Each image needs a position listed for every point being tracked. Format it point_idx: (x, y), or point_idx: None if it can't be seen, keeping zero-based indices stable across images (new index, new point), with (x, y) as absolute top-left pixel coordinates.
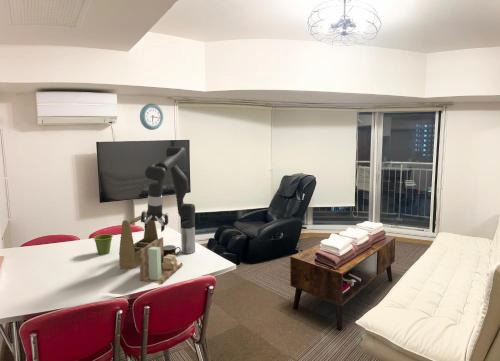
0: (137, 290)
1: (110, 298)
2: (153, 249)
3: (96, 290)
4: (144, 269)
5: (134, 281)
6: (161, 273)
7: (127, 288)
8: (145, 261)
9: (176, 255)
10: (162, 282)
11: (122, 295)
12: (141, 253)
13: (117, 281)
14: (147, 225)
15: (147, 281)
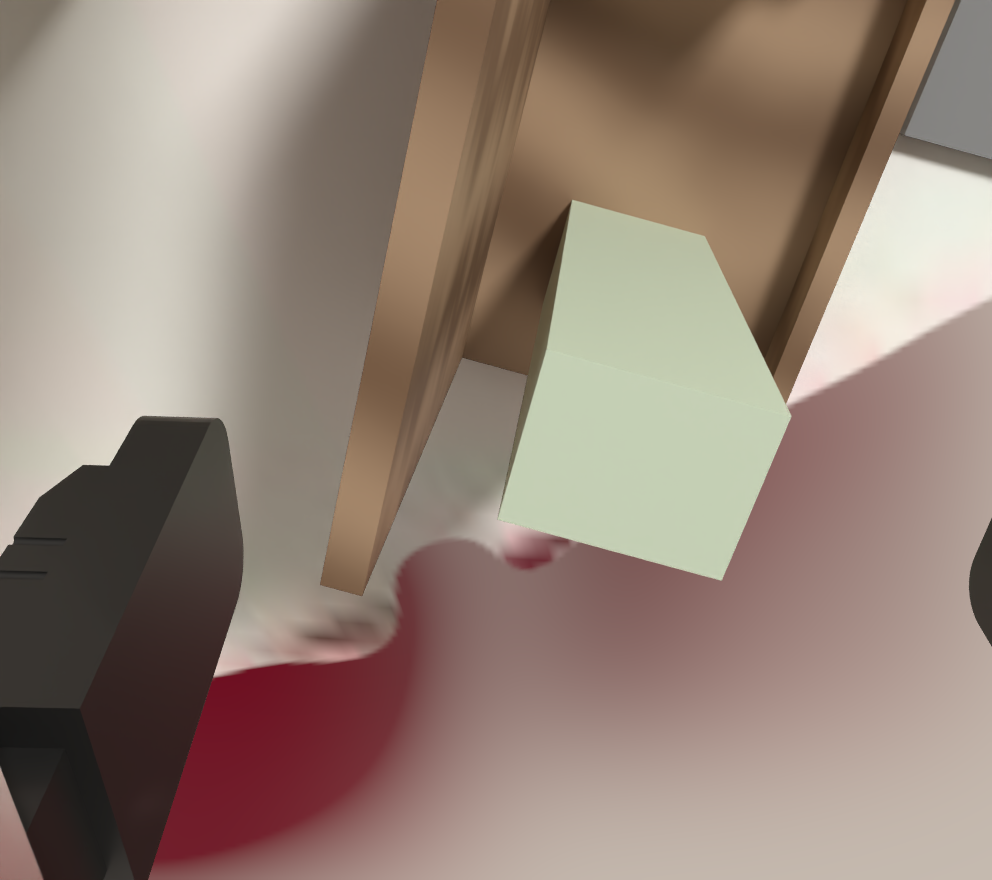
0: (468, 520)
1: (260, 655)
2: (633, 554)
3: (21, 492)
4: (456, 343)
5: (341, 286)
6: (679, 93)
7: (334, 468)
8: (446, 343)
9: None
10: None
11: (350, 610)
12: (379, 551)
13: (121, 277)
14: (168, 655)
15: None
